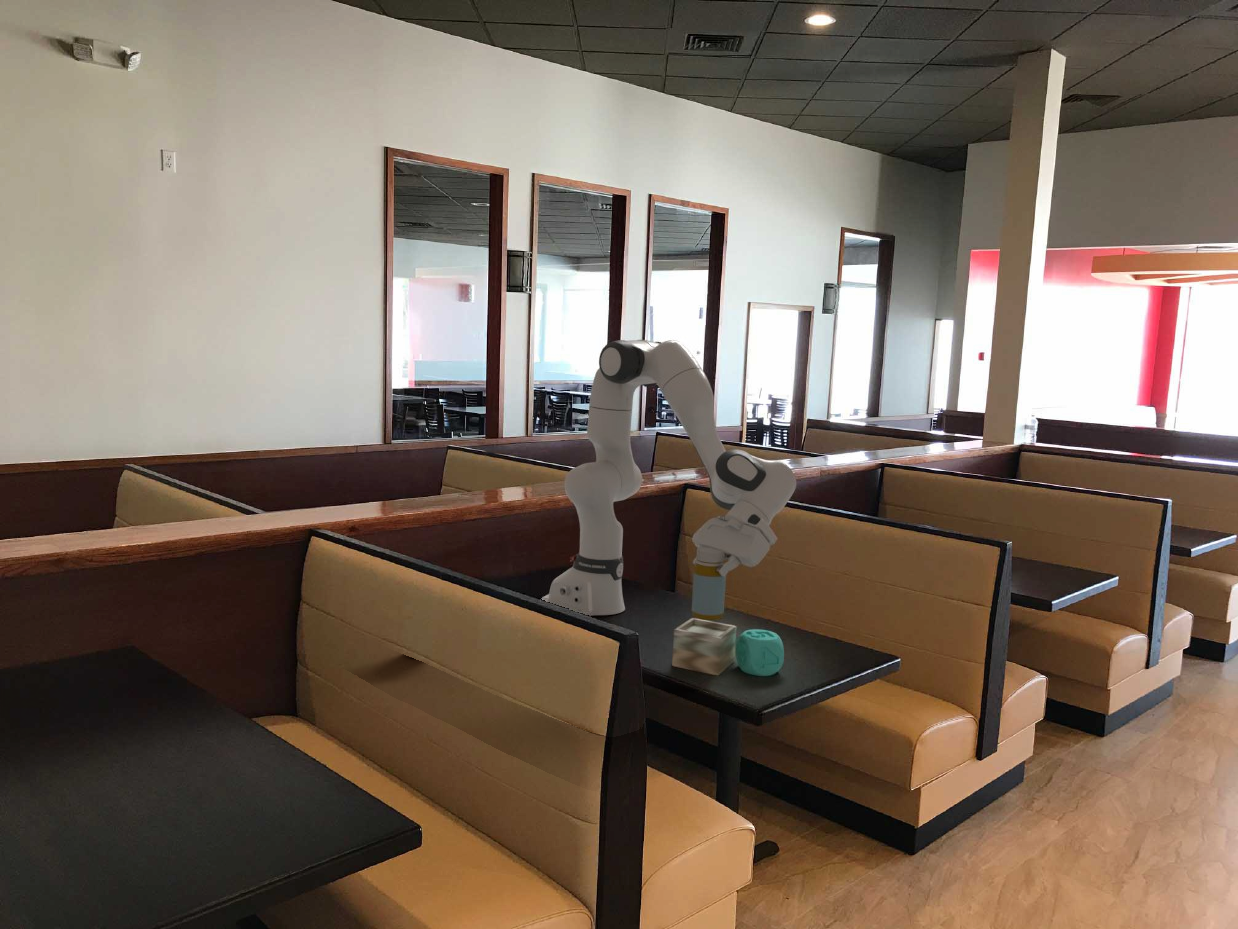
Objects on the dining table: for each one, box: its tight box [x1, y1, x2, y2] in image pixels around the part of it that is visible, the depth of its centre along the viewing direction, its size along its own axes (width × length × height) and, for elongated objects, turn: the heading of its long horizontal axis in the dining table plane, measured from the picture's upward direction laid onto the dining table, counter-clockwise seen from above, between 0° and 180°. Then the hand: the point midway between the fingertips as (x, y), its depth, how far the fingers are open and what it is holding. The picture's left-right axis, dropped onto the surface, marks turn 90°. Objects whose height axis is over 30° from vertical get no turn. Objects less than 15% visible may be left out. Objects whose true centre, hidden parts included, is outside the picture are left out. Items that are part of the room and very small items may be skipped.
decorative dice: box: [735, 628, 785, 677], centre depth 202 cm, size 8×8×8 cm
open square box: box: [671, 617, 738, 676], centre depth 204 cm, size 11×11×8 cm
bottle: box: [691, 546, 727, 621], centre depth 202 cm, size 7×7×15 cm
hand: (707, 569), depth 202 cm, fingers closed on bottle, 7 cm apart
